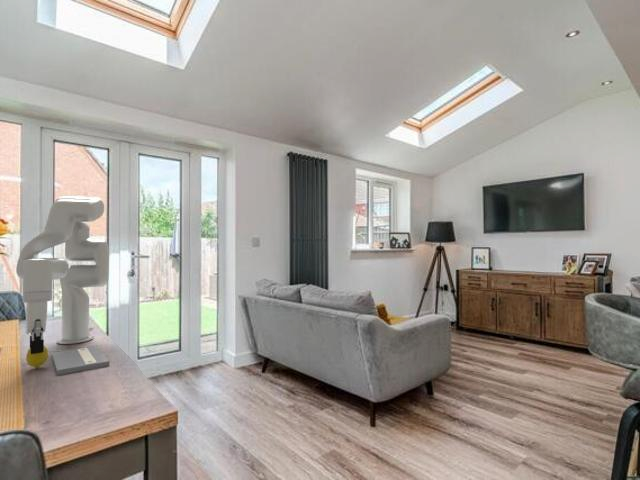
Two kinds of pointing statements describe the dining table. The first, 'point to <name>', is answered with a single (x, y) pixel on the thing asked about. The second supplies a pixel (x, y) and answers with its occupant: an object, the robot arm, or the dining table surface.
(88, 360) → the strip
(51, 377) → the dining table surface
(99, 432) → the dining table surface
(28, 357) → the lemon
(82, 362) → the panel
